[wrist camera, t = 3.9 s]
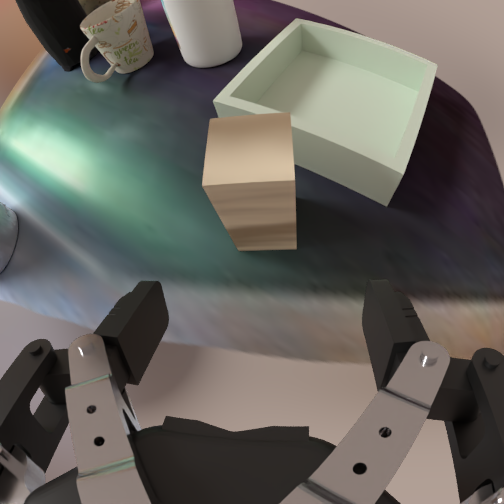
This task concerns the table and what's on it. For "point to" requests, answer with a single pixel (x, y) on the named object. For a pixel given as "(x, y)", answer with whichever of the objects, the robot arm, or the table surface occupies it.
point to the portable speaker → (58, 28)
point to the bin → (338, 102)
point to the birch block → (253, 179)
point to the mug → (116, 38)
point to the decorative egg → (92, 5)
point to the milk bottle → (204, 30)
